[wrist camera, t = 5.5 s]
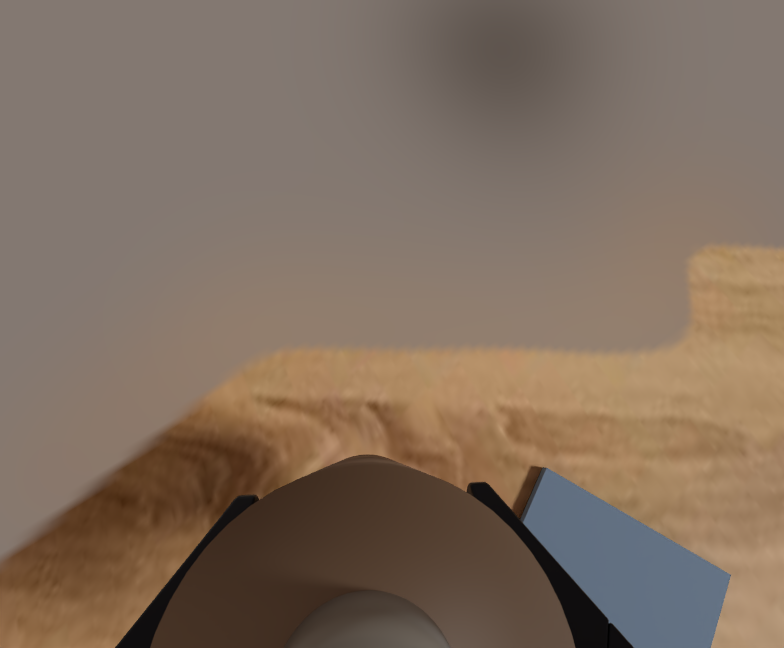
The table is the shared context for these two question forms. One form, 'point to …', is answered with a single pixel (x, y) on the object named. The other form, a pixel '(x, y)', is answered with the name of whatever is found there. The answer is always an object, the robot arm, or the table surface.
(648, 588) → the placemat
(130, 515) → the table surface
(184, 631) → the pepper mill
